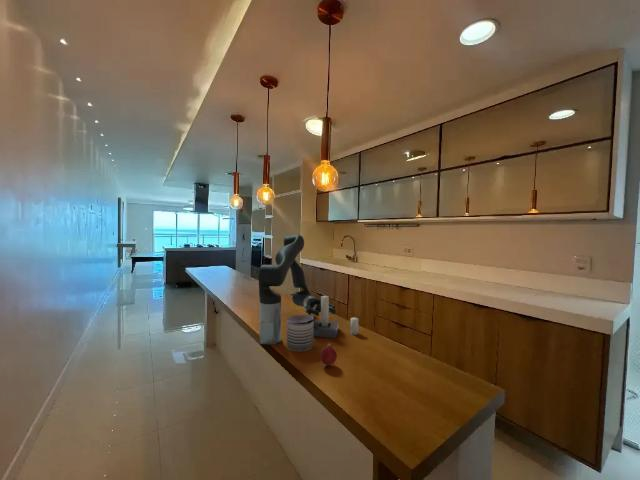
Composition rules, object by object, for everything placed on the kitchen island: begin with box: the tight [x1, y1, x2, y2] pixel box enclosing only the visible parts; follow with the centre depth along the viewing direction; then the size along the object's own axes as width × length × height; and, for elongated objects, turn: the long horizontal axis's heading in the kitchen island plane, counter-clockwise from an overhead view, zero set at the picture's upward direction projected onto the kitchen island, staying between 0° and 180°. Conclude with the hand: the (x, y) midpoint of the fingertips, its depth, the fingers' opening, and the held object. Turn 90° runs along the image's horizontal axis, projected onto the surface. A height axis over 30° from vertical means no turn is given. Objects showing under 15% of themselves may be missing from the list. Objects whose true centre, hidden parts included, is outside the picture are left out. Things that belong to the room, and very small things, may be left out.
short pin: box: [350, 317, 359, 336], centre depth 130 cm, size 4×4×7 cm
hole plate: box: [313, 319, 339, 339], centre depth 132 cm, size 12×12×4 cm
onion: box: [320, 343, 338, 367], centre depth 99 cm, size 6×6×8 cm
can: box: [286, 314, 314, 352], centre depth 116 cm, size 11×11×12 cm
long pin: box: [320, 295, 330, 327], centre depth 131 cm, size 4×4×17 cm
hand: (326, 313), depth 130 cm, fingers open, 8 cm apart
